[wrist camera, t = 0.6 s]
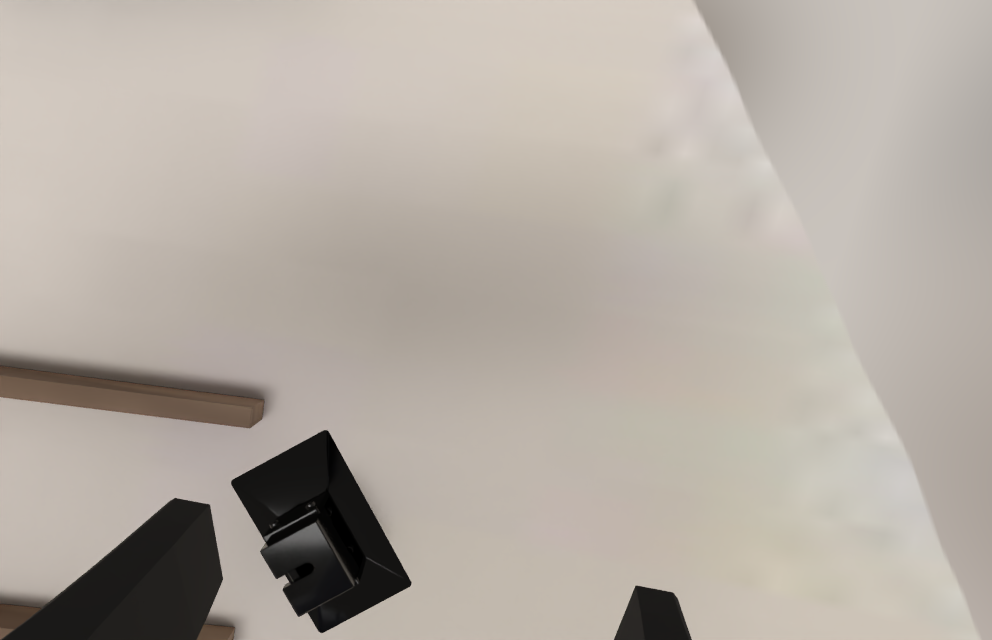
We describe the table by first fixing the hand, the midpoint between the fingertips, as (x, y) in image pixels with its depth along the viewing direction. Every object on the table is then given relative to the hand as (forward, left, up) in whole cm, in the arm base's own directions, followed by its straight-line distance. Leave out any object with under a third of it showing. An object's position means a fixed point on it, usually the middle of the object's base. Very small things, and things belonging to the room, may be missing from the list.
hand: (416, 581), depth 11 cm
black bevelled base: (-9, +5, -23) cm, 25 cm away
